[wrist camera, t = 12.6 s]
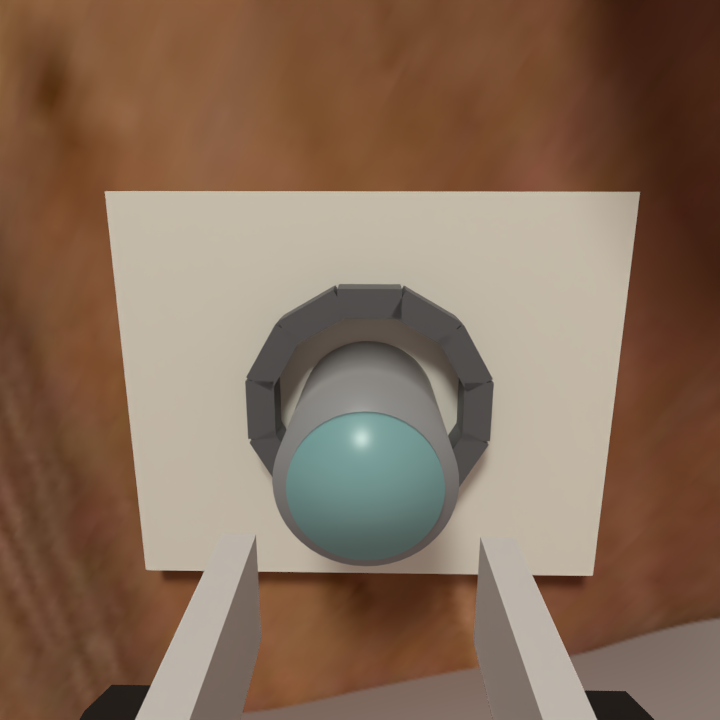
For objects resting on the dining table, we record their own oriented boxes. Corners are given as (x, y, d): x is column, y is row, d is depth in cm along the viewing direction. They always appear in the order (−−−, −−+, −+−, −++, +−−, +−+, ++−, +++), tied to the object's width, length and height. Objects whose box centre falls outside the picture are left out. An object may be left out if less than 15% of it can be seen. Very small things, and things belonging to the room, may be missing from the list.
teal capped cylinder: (303, 465, 26) (273, 572, 18) (300, 340, 25) (266, 399, 17) (431, 467, 26) (456, 575, 18) (436, 341, 24) (465, 401, 17)
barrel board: (157, 552, 29) (132, 591, 26) (120, 192, 25) (85, 189, 22) (581, 557, 29) (606, 597, 26) (623, 193, 24) (659, 190, 21)
